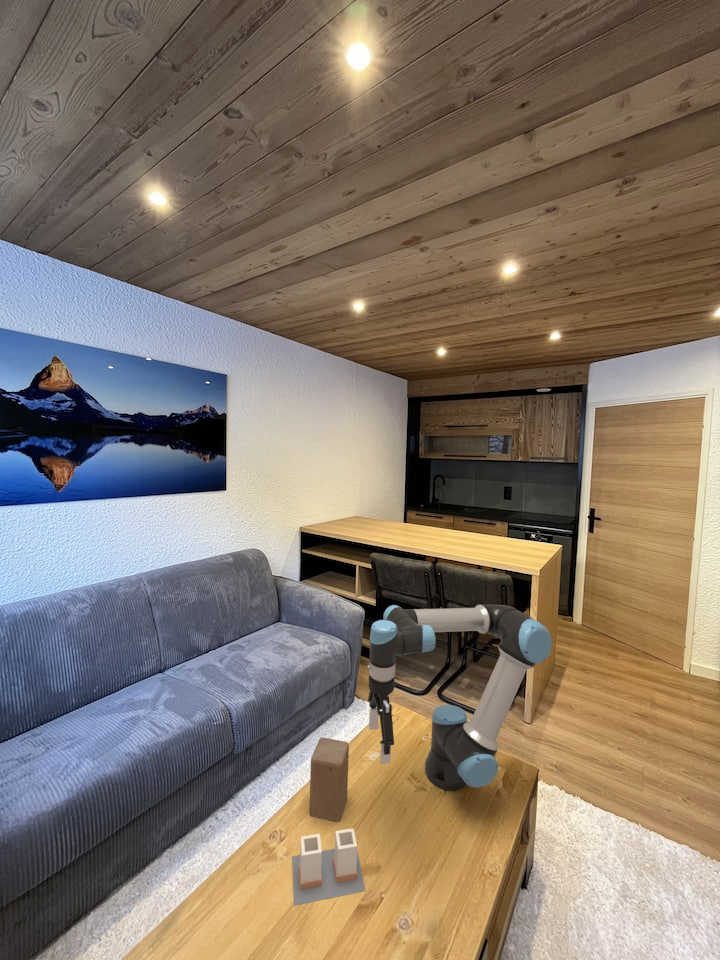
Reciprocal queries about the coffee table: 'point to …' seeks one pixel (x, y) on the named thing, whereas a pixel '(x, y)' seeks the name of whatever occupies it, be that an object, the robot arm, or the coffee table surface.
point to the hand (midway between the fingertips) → (379, 744)
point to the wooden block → (329, 779)
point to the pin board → (325, 881)
